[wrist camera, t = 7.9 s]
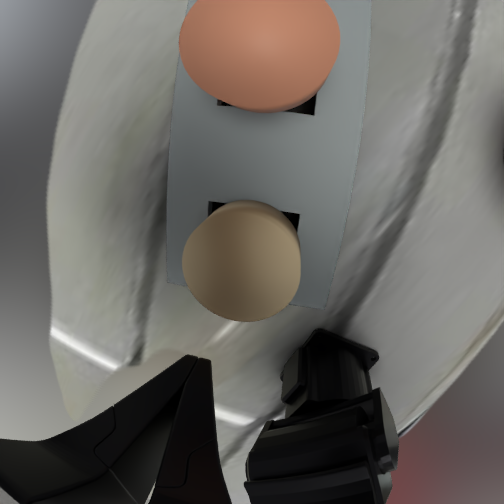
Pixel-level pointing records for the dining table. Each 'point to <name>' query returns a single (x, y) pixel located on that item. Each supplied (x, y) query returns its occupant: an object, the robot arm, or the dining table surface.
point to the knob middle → (260, 50)
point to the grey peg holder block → (274, 158)
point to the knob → (243, 261)
